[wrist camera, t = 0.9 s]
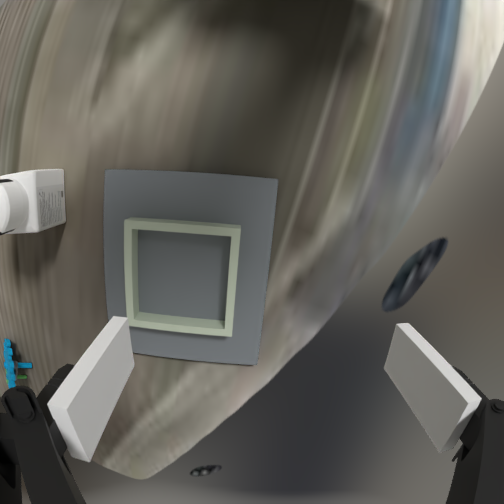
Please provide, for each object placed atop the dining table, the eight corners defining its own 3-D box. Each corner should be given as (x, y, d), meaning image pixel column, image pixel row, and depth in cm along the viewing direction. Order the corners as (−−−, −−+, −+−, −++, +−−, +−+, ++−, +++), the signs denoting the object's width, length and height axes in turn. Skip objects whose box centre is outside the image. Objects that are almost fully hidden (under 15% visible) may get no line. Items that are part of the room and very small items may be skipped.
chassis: (109, 169, 37) (97, 169, 33) (276, 179, 38) (281, 179, 34) (114, 344, 43) (106, 357, 39) (256, 359, 44) (258, 375, 41)
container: (29, 224, 38) (-27, 243, 25) (26, 174, 36) (-32, 179, 23) (67, 222, 38) (12, 242, 26) (64, 168, 36) (7, 171, 24)
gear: (2, 327, 40) (9, 375, 35) (29, 329, 45) (39, 375, 40) (0, 359, 44) (8, 402, 38) (24, 360, 48) (34, 402, 43)
